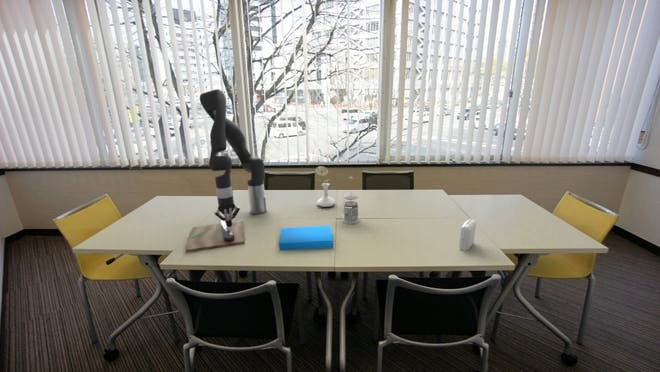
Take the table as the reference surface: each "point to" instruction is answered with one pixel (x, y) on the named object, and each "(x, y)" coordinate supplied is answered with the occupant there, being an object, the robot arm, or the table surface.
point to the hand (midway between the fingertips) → (229, 226)
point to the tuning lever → (227, 233)
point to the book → (305, 238)
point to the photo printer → (467, 235)
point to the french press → (353, 212)
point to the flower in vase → (325, 200)
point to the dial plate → (214, 237)
